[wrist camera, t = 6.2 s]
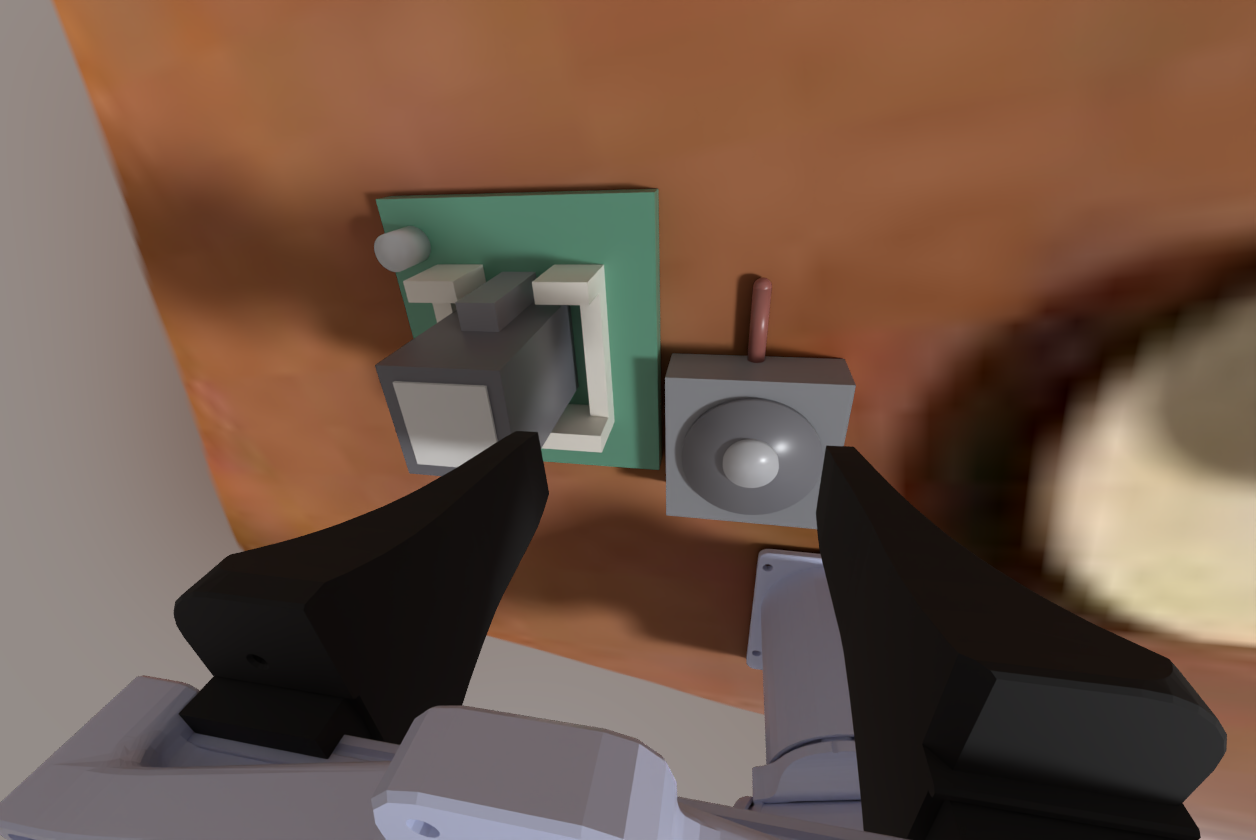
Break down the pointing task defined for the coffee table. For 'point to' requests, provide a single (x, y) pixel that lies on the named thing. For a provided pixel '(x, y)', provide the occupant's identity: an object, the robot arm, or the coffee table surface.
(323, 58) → the coffee table surface
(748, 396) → the grey dished knob block
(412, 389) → the plug
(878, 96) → the coffee table surface
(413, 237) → the board
